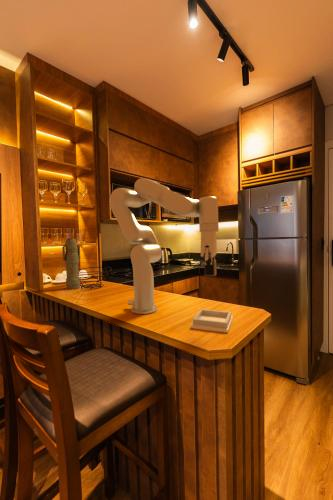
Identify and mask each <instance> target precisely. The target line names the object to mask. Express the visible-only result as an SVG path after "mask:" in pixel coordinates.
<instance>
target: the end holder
mask: <svg viewBox="0 0 333 500" xmlns="http://www.w3.org/2000/svg"><path fill="white" fill-rule="evenodd" d="M233 319H234V315H232V311H225V310H224V311H223V310H213V309H203V308H202V309H200V310H199V311H198V312H197V313H196V315H194V317H193V318H192V323H191V324H190V329H195V330H204V331H210V332H218V333H229V331H230V329H231V325H232V323H233Z"/></svg>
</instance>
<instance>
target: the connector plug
mask: <svg viewBox="0 0 333 500" xmlns="http://www.w3.org/2000/svg"><path fill="white" fill-rule="evenodd" d="M212 265H213V272H214V274H213V275H205V274H204V277H216V276H217V260H216V259H215V260H212ZM200 266H201V267H204V269H205V260H204V262H201V263H200Z"/></svg>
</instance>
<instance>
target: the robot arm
mask: <svg viewBox="0 0 333 500" xmlns="http://www.w3.org/2000/svg"><path fill="white" fill-rule="evenodd" d="M133 186H134V189H131V188H126V187H118V188H116V189H114V190H113V191H112V192H111V194H110V197H109V198H110V199H109V206H110V209H111V212H112V214H113V215H114V217H115V219H116V221H117V223H118V225H119V227H120V230H121V232H122V234H123V236H124V238H125V241H126V242H127V243H128V244H130V245H135V246H133V247H132V249H131V251H130V260H131V261H130V262H131V264H132V272H133V273H132V277H133V300H132V299H129V300H127V305H128V306H131V308H130V311H131V312H132V313H133V314H137V315H148V314H153V313H155V312H157V311H158V310H159V309H158V306H157V305H155V285H154V284H155V283H154V281H155V280H154V270H153V267H152V265H151V263H152V264H154V263H156V262H159V261H161V259H162V256H163V252H162V251H163V250H162V247H161V246H160V242H159V241H158V239H157V237H156V235H155V233H154V231H153V230H152V228H151V227H150V226H148V225H145V224H140V223H139V222H138V221H137V219H136V216H135V215H134V213H133V212H132V211H131V210H130V208H134V209H135V208H141V207H142V206H145V205H146V204H149V203H151V202H152V203H154V204H157V205H158V206H159V207H161V208H162V209H165V210H167V211H169V212H171V213H173V214H175V215H176V216H180V217H185V218H193V219H194V218H198V221H199V222H198V224H199V226H198V227H199V233H200V257H202V258H204V261H205V268H204V276H205V275H213V274H214V272H213V265H212V260H216V255H217V253H218V251H217V250H218V247H217V246H218V244H217V232H218V233H219V232H220V231H219V230H220V229H219V202H218V197H216V196H210V195H209V196H203V197H200V198H199V199H193V198H190V197H186V196H185V195H182V194H179V193H177V192H174V191H172V190H171V189H170V188H169V187H168V186H166V185H163V184H162V183H159V182H158V181H156V180H152V179H149V178H145V177H142V178H139V179H137V180H136V181H135V182H134V185H133Z"/></svg>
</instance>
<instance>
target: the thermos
mask: <svg viewBox="0 0 333 500" xmlns="http://www.w3.org/2000/svg"><path fill="white" fill-rule="evenodd" d="M80 247H81V246H80V245H79V244H78V243H77V240H76V238H75V237H74V238H73V237H69V238H68V237H67V238H66V239H65V242H64V245H62V247H61V248H62V251H61V252H62V260H63V261H64V264H65V271H66V278H65V285H66V290H77V289H80V287H81V281H80V279H81V278H80V276H79V263H80V262H79V261H80V259H81V249H80Z"/></svg>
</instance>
